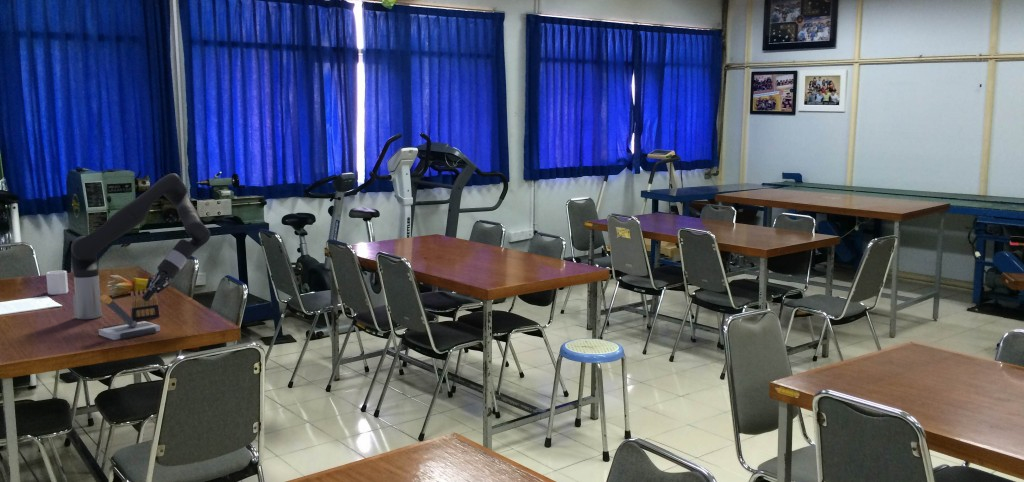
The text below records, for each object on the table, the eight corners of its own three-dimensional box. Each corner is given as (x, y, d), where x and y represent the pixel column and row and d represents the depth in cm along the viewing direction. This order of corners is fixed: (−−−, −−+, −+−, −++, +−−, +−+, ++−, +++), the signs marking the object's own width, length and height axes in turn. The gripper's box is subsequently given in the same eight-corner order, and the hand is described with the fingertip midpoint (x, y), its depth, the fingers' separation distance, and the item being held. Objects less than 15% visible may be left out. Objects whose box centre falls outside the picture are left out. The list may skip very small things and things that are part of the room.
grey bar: (134, 326, 349) (134, 320, 348) (137, 327, 347) (136, 321, 347) (100, 332, 339) (100, 327, 339) (103, 333, 337) (103, 327, 337)
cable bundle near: (153, 332, 339) (152, 326, 339) (156, 333, 337) (155, 327, 337) (119, 339, 329) (118, 333, 329) (122, 340, 328) (121, 334, 327)
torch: (161, 297, 421) (106, 298, 403) (155, 287, 425) (101, 288, 408) (165, 283, 417) (110, 284, 400) (160, 273, 422) (105, 273, 405)
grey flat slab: (144, 326, 349) (144, 320, 349) (160, 330, 341) (159, 325, 341) (98, 334, 336) (98, 329, 335) (113, 339, 328) (113, 334, 328)
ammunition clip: (132, 320, 358) (130, 291, 357) (130, 319, 360) (128, 290, 358) (159, 316, 365) (157, 288, 363) (158, 316, 366) (156, 287, 365)
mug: (69, 293, 415) (68, 272, 413) (49, 295, 410) (47, 274, 408) (65, 289, 424) (64, 268, 423) (45, 291, 420) (43, 270, 418)
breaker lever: (133, 322, 341) (103, 294, 332) (138, 323, 339) (108, 295, 329) (129, 326, 340) (99, 298, 331) (134, 328, 338) (104, 300, 328)
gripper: (187, 271, 347) (159, 308, 340) (170, 268, 355) (143, 303, 348) (174, 260, 342) (145, 296, 335) (157, 256, 351) (129, 292, 343)
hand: (144, 299), depth 341 cm, fingers closed
